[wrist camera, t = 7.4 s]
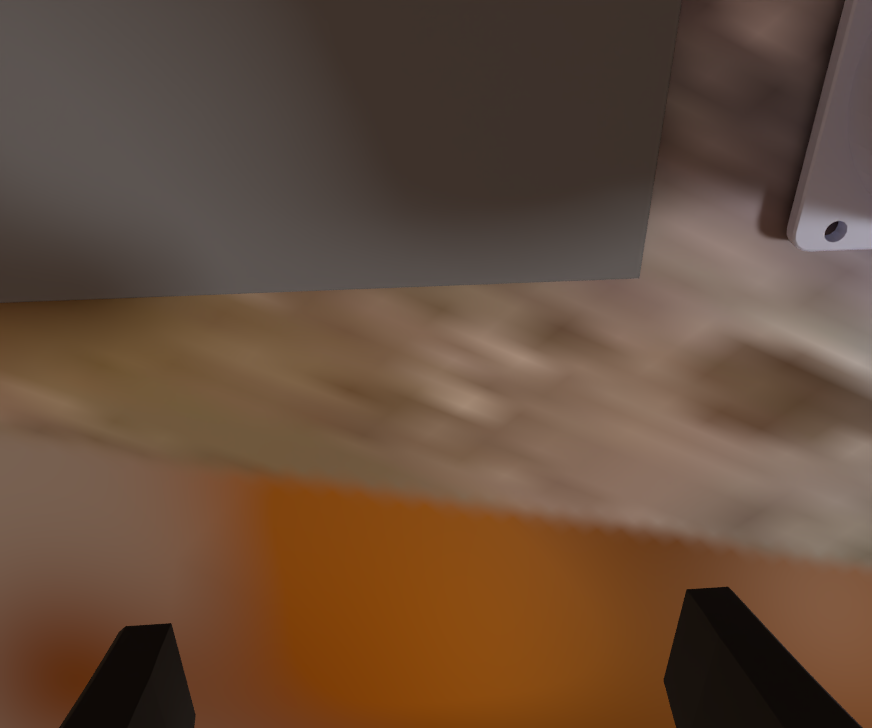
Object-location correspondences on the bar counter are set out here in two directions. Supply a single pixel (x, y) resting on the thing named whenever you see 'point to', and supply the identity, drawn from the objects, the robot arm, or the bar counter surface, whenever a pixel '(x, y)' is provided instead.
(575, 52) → the tray
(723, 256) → the bar counter surface
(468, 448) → the bar counter surface
